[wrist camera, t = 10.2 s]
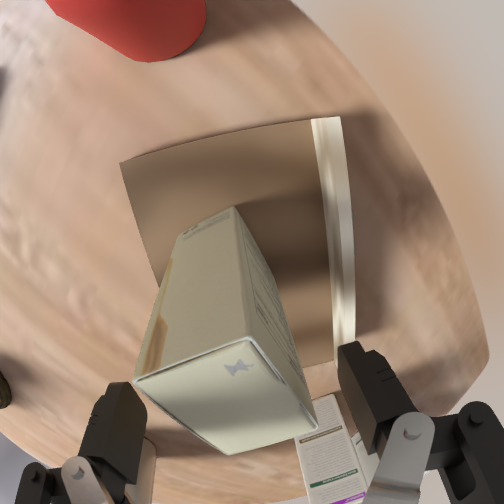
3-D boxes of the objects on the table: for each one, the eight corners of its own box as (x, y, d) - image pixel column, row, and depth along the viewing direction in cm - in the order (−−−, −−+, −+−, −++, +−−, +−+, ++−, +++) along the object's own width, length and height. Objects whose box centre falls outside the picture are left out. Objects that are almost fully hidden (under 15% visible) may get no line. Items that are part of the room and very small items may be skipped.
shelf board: (338, 343, 26) (356, 380, 22) (203, 371, 26) (201, 411, 22) (317, 118, 18) (344, 115, 14) (129, 159, 18) (100, 169, 14)
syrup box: (286, 407, 30) (308, 520, 17) (335, 390, 29) (373, 500, 16) (298, 428, 32) (320, 525, 19) (342, 413, 32) (374, 508, 18)
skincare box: (176, 233, 19) (118, 376, 7) (235, 202, 18) (247, 326, 7) (223, 307, 21) (225, 461, 10) (277, 282, 21) (322, 432, 9)
